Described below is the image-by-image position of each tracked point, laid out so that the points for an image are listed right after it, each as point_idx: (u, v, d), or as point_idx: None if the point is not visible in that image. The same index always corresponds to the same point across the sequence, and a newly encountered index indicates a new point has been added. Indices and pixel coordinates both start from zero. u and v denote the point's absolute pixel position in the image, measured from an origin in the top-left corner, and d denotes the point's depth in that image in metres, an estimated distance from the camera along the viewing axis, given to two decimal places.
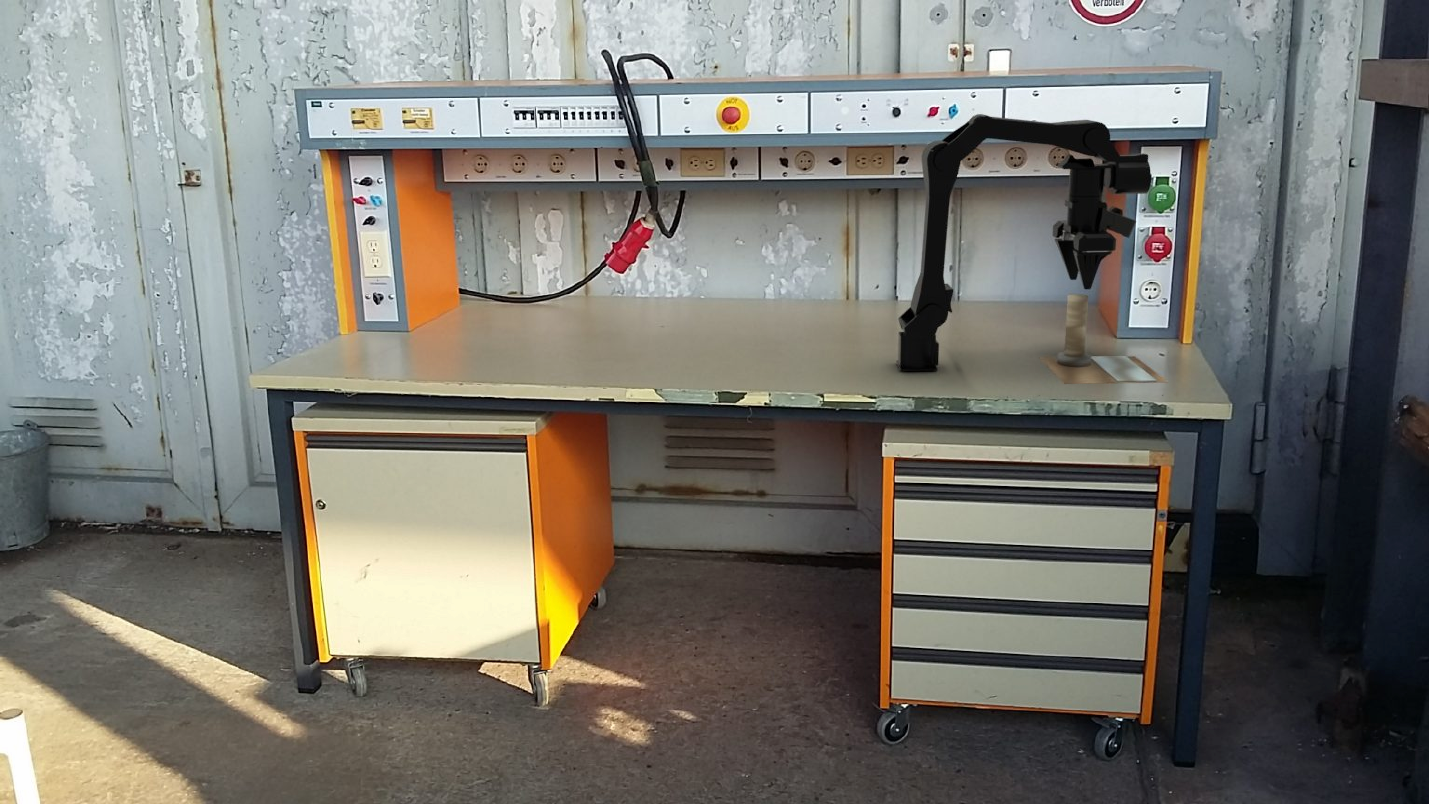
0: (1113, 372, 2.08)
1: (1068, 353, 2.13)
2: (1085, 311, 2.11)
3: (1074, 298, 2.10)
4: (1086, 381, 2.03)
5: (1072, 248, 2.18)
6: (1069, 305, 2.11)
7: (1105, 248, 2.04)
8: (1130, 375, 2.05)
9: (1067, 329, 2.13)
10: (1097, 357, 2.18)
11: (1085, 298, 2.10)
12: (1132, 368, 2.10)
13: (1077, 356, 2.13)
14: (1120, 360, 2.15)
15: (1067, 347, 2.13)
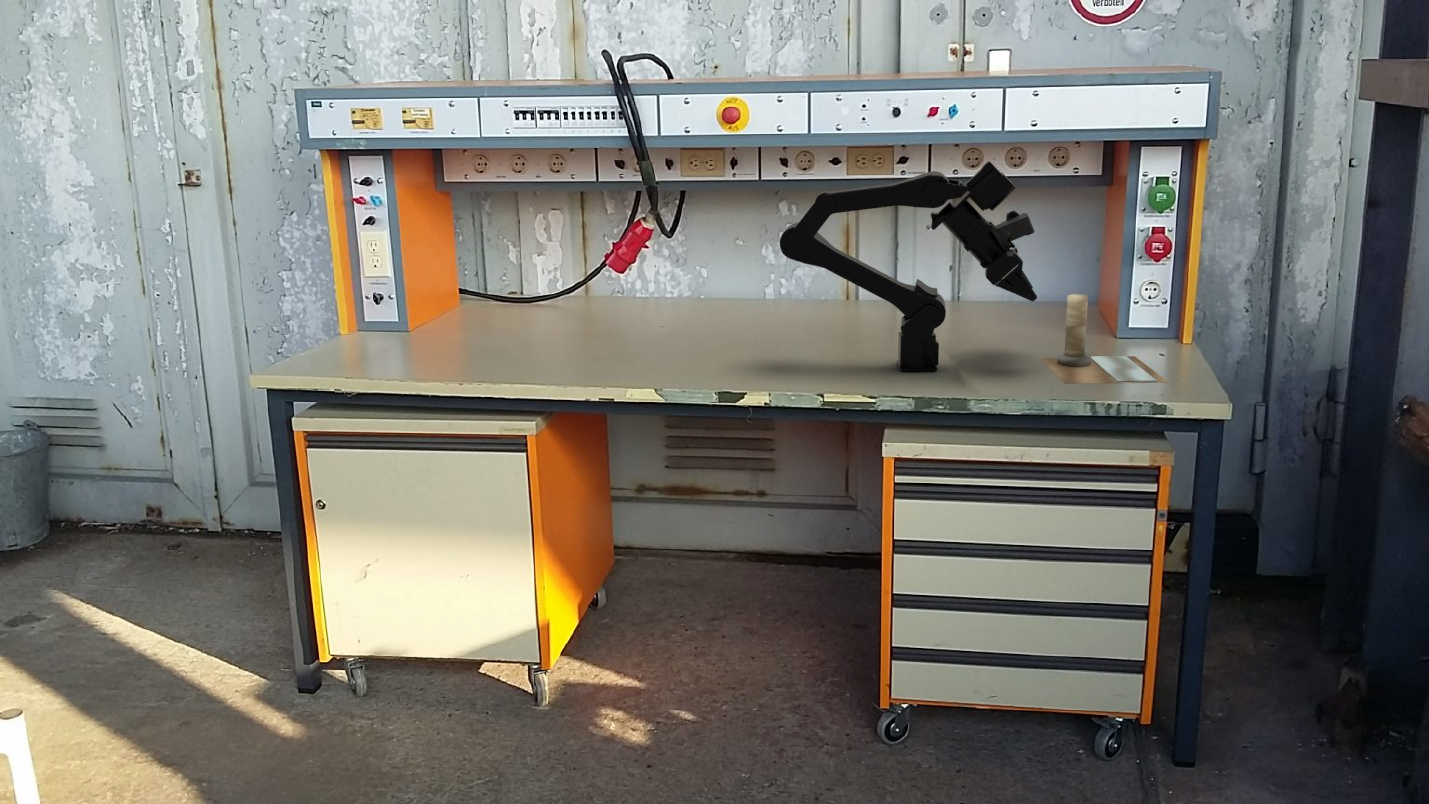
0: (1113, 372, 2.08)
1: (1068, 353, 2.13)
2: (1085, 311, 2.11)
3: (1074, 298, 2.10)
4: (1086, 381, 2.03)
5: None
6: (1069, 305, 2.11)
7: (1011, 266, 2.03)
8: (1130, 375, 2.05)
9: (1067, 329, 2.13)
10: (1097, 357, 2.18)
11: (1085, 298, 2.10)
12: (1132, 368, 2.10)
13: (1077, 356, 2.13)
14: (1120, 360, 2.15)
15: (1067, 347, 2.13)
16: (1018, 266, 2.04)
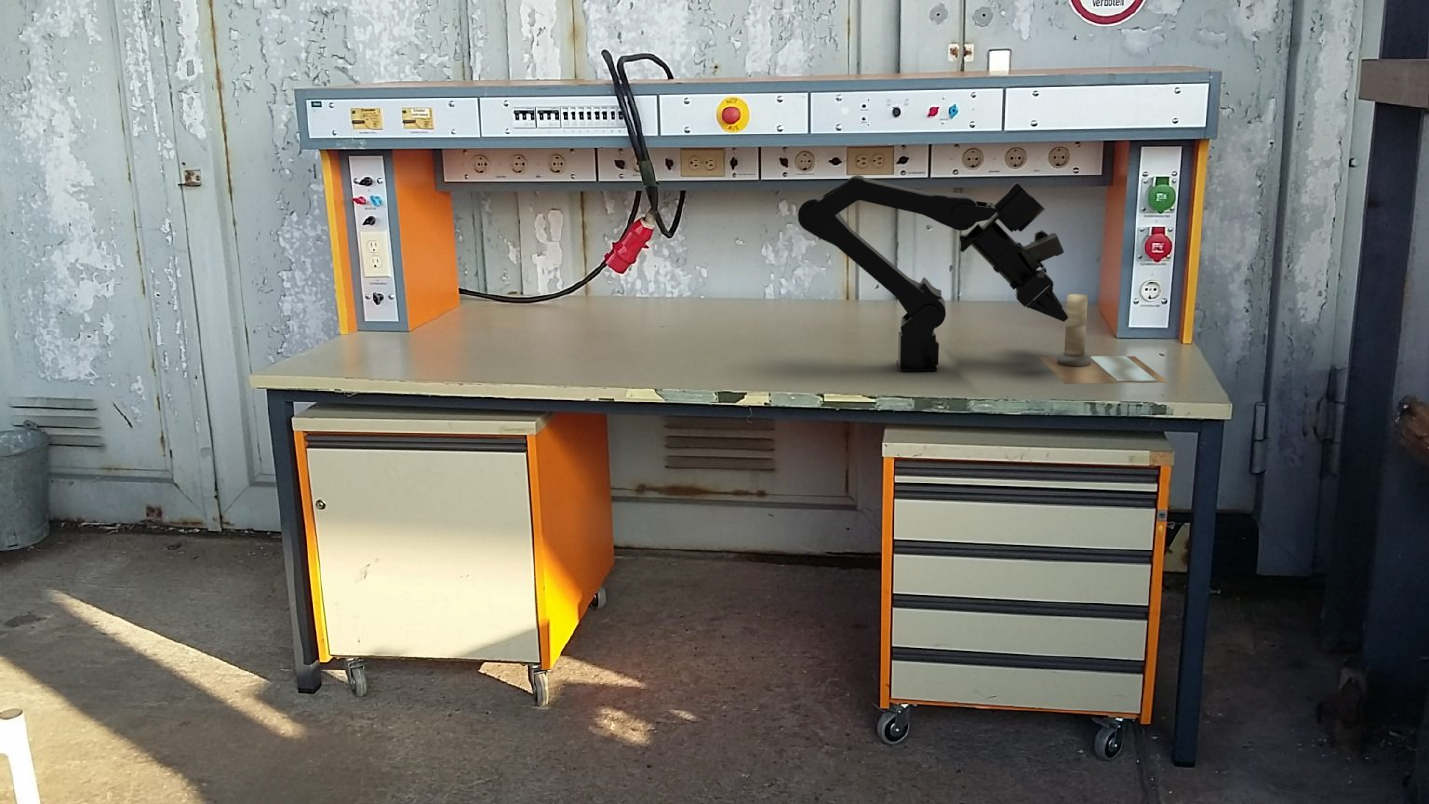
0: (1113, 372, 2.08)
1: (1068, 353, 2.13)
2: (1085, 311, 2.11)
3: (1073, 298, 2.10)
4: (1086, 381, 2.03)
5: None
6: (1069, 305, 2.11)
7: (1042, 287, 2.03)
8: (1130, 375, 2.05)
9: (1067, 329, 2.13)
10: (1097, 357, 2.18)
11: (1084, 298, 2.10)
12: (1132, 368, 2.10)
13: (1077, 356, 2.13)
14: (1120, 360, 2.15)
15: (1067, 347, 2.13)
16: (1049, 287, 2.04)
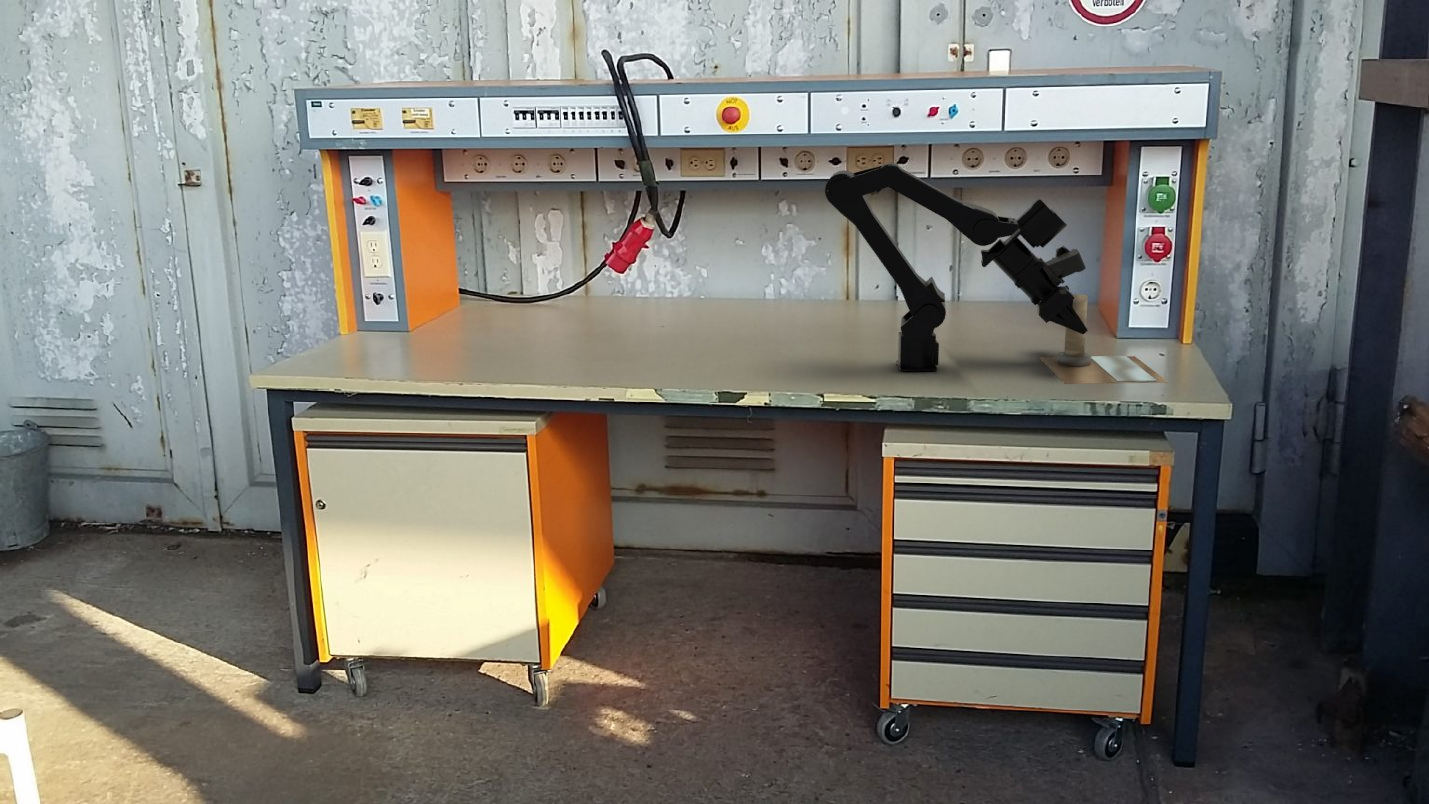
0: (1113, 372, 2.08)
1: (1068, 353, 2.13)
2: (1085, 311, 2.11)
3: None
4: (1086, 381, 2.03)
5: None
6: None
7: (1064, 304, 2.03)
8: (1130, 375, 2.05)
9: (1067, 329, 2.13)
10: (1097, 357, 2.18)
11: (1084, 298, 2.10)
12: (1132, 368, 2.10)
13: (1077, 356, 2.13)
14: (1120, 360, 2.15)
15: (1067, 347, 2.13)
16: None
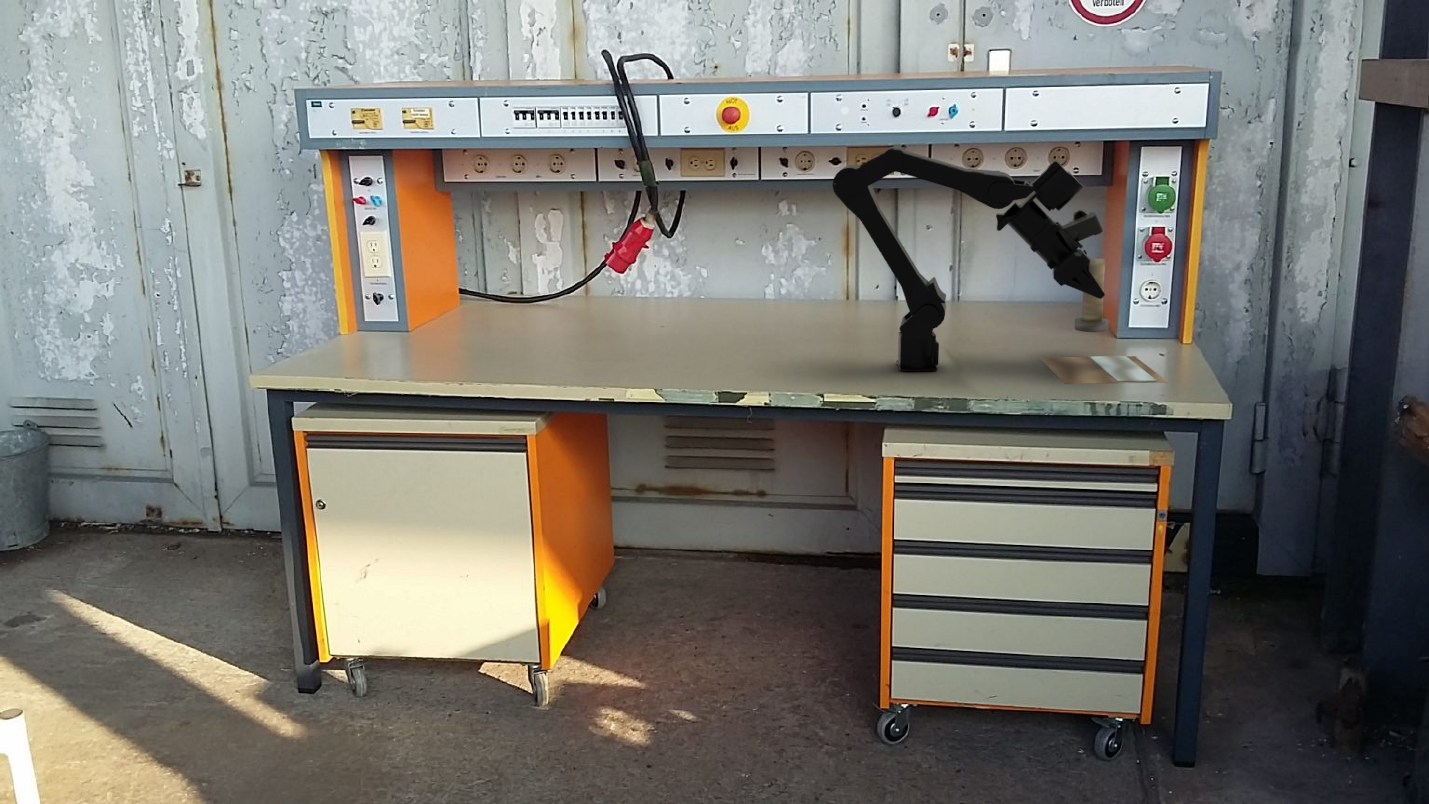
0: (1113, 372, 2.08)
1: (1085, 318, 2.10)
2: (1102, 275, 2.08)
3: (1090, 262, 2.07)
4: (1086, 381, 2.03)
5: None
6: None
7: (1080, 266, 2.00)
8: (1130, 375, 2.05)
9: (1084, 294, 2.09)
10: (1097, 357, 2.18)
11: (1102, 262, 2.07)
12: (1132, 368, 2.10)
13: (1094, 321, 2.09)
14: (1120, 360, 2.15)
15: (1084, 312, 2.10)
16: (1085, 263, 2.04)
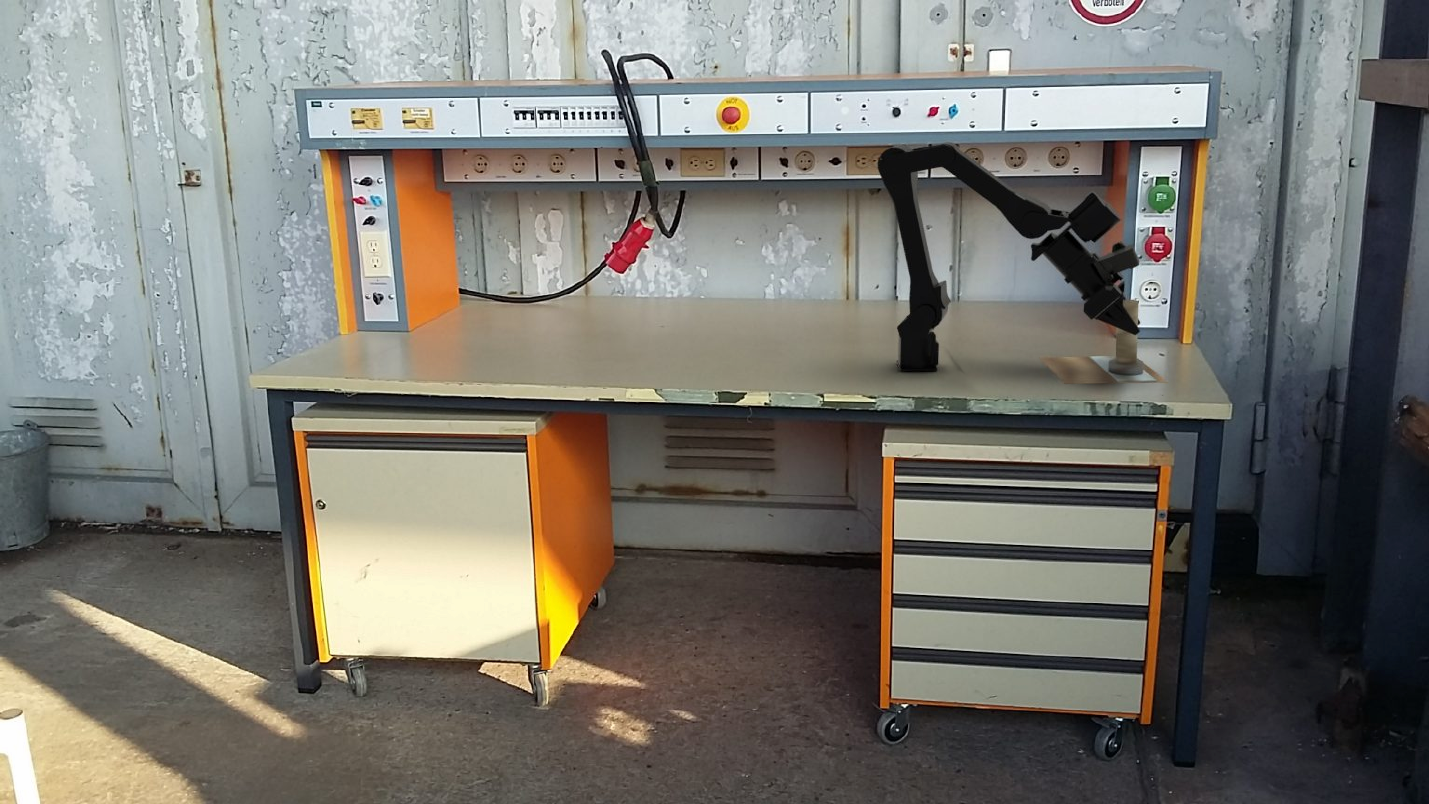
0: None
1: (1118, 361, 2.07)
2: (1135, 317, 2.04)
3: (1123, 304, 2.04)
4: (1086, 381, 2.03)
5: None
6: None
7: (1110, 301, 1.97)
8: (1130, 375, 2.05)
9: (1117, 336, 2.06)
10: (1097, 357, 2.18)
11: (1134, 304, 2.03)
12: None
13: (1127, 363, 2.06)
14: None
15: (1117, 354, 2.07)
16: (1118, 299, 1.99)
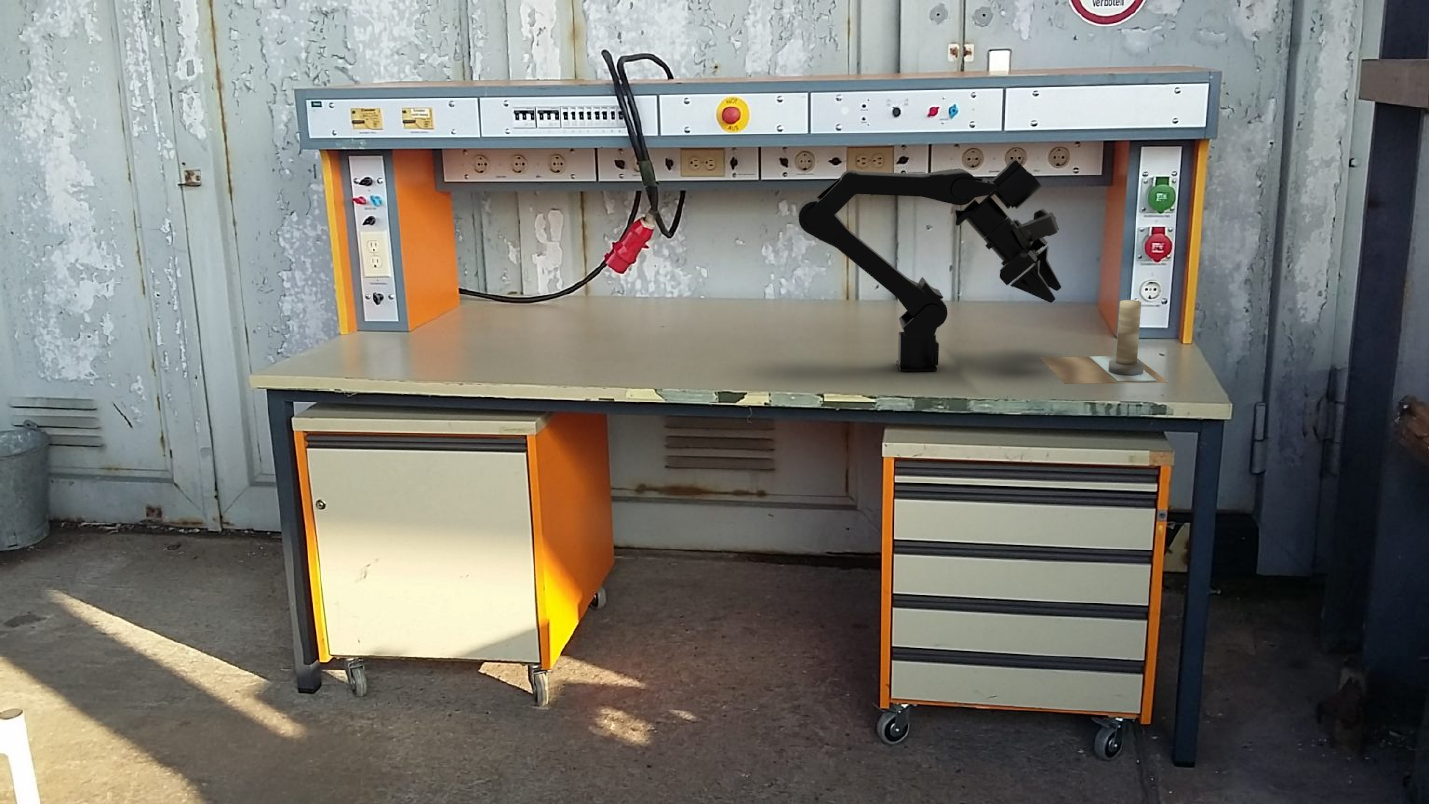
0: None
1: (1119, 361, 2.07)
2: (1137, 318, 2.04)
3: (1125, 304, 2.03)
4: (1086, 381, 2.03)
5: None
6: (1121, 311, 2.05)
7: (1024, 267, 2.03)
8: None
9: (1118, 336, 2.06)
10: (1097, 357, 2.18)
11: (1137, 304, 2.03)
12: None
13: (1128, 364, 2.06)
14: None
15: (1118, 354, 2.07)
16: (1032, 267, 2.03)
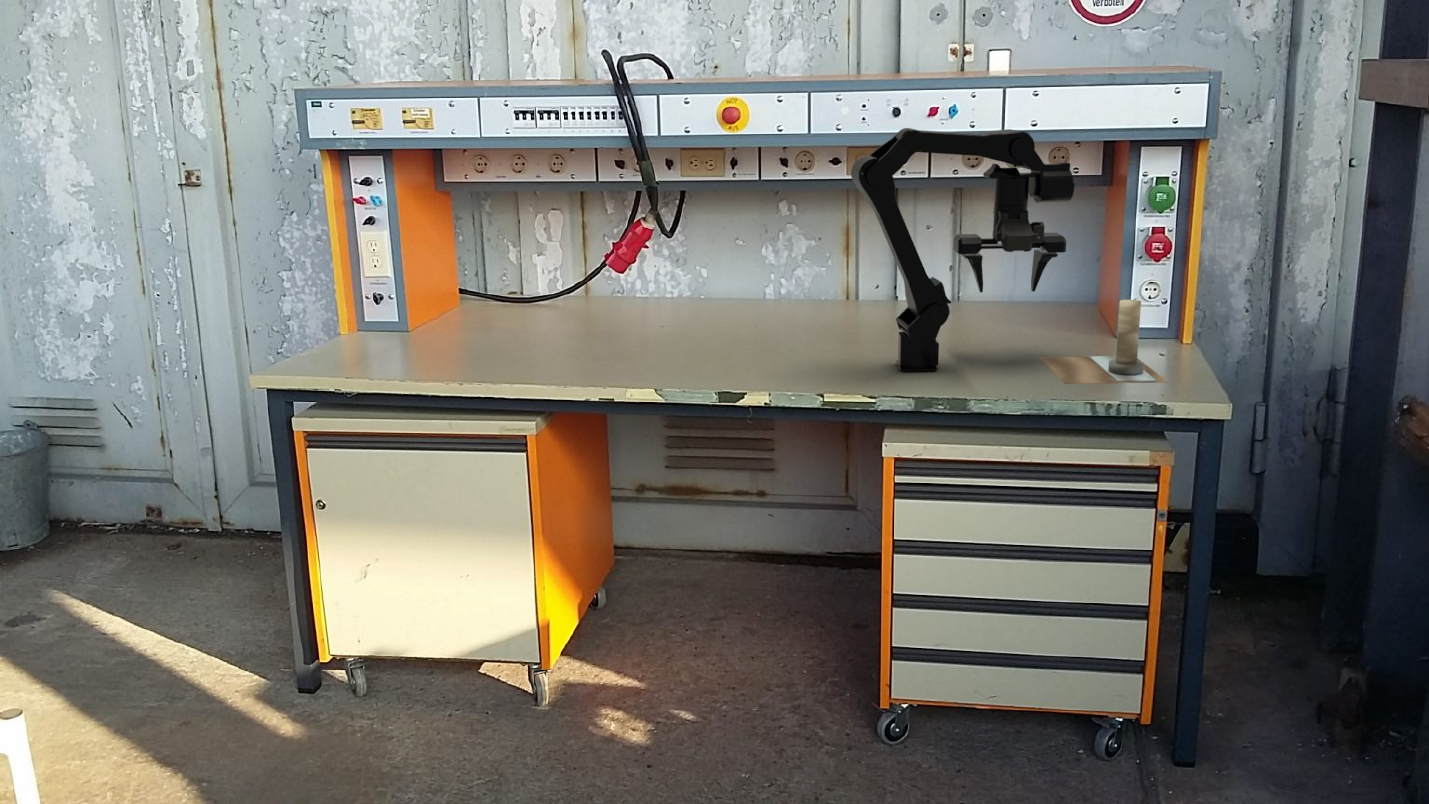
0: None
1: (1119, 360, 2.07)
2: (1137, 317, 2.04)
3: (1125, 303, 2.04)
4: (1086, 381, 2.03)
5: (1036, 259, 2.16)
6: (1121, 310, 2.05)
7: (956, 250, 2.15)
8: (1130, 375, 2.05)
9: (1118, 335, 2.06)
10: (1097, 357, 2.18)
11: (1137, 303, 2.04)
12: None
13: (1128, 363, 2.06)
14: None
15: (1118, 354, 2.07)
16: (965, 256, 2.14)
